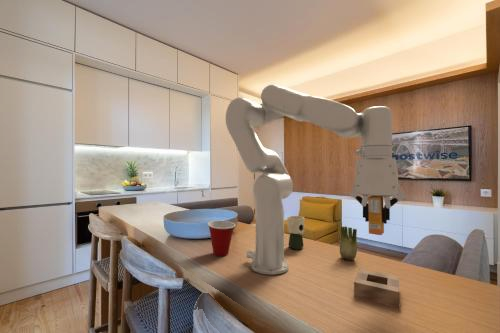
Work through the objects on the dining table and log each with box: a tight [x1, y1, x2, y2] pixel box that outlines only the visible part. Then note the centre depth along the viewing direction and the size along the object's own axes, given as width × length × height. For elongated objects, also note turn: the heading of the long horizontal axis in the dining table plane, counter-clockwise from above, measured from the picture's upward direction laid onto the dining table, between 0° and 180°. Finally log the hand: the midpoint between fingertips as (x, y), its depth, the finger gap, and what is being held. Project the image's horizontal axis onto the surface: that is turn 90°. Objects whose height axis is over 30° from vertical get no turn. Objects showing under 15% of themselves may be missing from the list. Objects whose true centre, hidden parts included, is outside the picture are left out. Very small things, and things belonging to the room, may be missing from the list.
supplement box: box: [367, 196, 385, 236], centre depth 64 cm, size 3×3×10 cm
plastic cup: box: [207, 220, 236, 257], centre depth 93 cm, size 11×11×12 cm
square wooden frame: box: [353, 268, 400, 309], centre depth 64 cm, size 10×10×4 cm
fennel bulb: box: [339, 226, 358, 261], centre depth 89 cm, size 6×5×12 cm
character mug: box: [287, 215, 306, 250], centre depth 102 cm, size 11×7×13 cm, turn 150°
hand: (376, 221), depth 64 cm, fingers closed on supplement box, 3 cm apart
